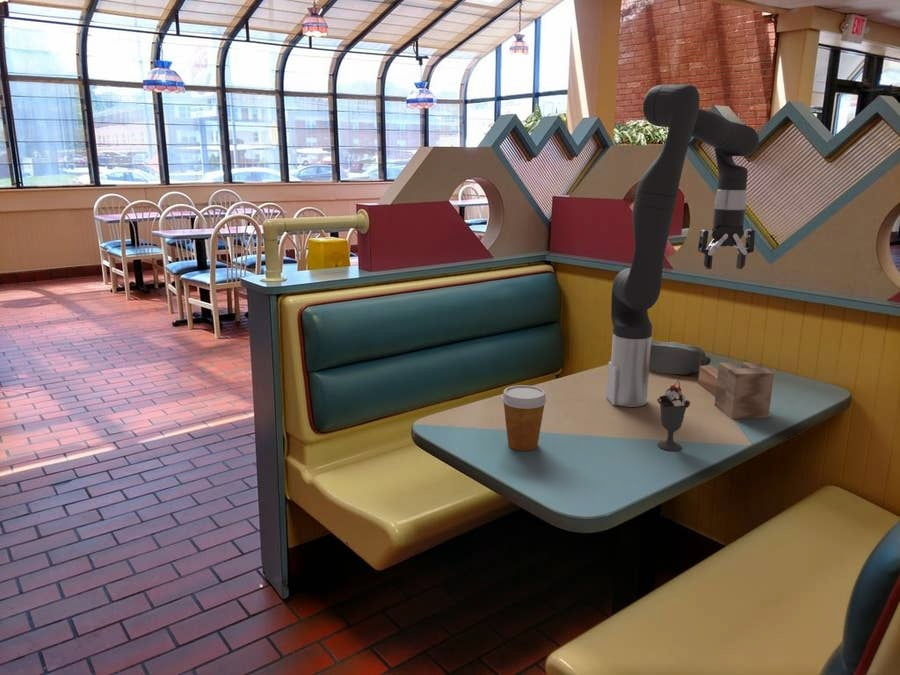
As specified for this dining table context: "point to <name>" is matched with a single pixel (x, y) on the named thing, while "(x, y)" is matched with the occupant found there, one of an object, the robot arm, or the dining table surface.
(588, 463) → the dining table surface
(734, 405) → the slotted tan block
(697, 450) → the dining table surface
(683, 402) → the sundae
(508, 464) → the dining table surface
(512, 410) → the disposable coffee cup
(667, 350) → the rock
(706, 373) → the bed rail
